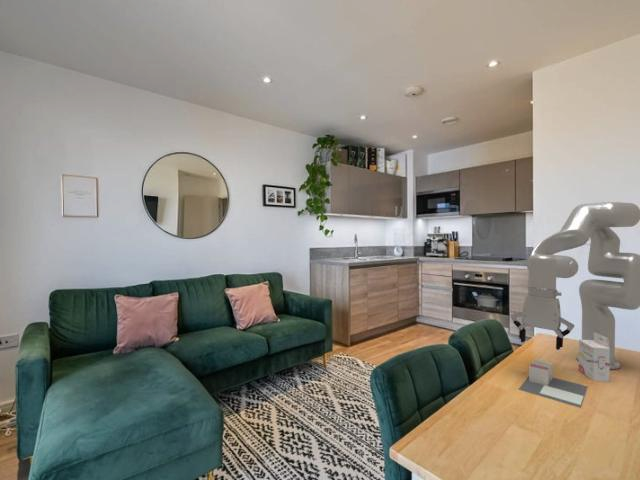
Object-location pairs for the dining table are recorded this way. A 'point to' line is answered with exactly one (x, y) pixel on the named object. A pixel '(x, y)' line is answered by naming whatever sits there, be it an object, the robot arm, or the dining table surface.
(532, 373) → the card deck case
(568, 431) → the dining table surface
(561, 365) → the dining table surface
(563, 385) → the mat
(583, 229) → the robot arm
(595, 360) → the ink cartridge box
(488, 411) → the dining table surface
